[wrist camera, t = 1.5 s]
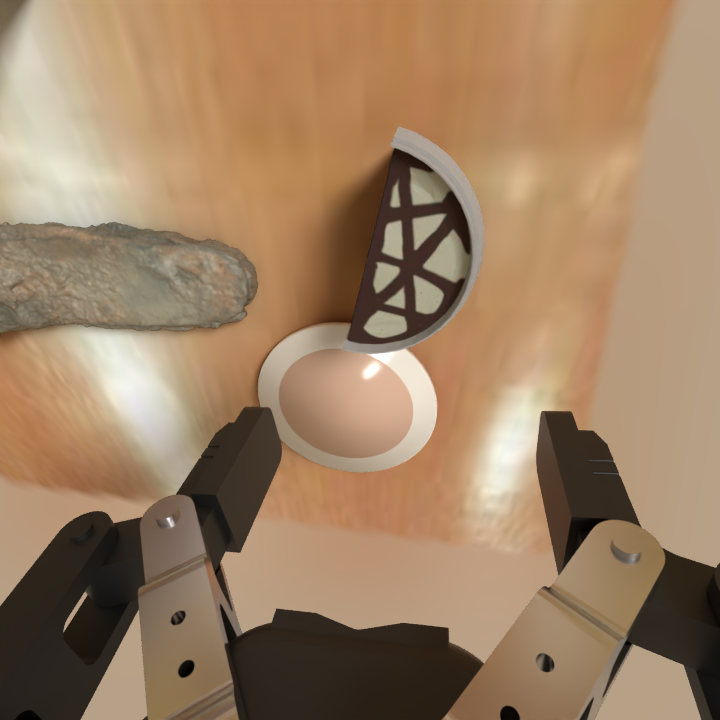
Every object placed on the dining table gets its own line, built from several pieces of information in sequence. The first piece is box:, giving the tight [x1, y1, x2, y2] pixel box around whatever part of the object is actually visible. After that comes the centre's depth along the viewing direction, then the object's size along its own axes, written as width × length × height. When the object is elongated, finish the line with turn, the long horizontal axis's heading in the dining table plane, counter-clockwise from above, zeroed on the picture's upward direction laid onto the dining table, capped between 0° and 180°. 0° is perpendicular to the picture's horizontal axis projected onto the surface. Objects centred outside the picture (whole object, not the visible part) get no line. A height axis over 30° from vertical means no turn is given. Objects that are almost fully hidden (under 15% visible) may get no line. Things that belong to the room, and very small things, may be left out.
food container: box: [342, 126, 484, 354], centre depth 27 cm, size 12×6×10 cm, turn 167°
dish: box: [258, 322, 437, 472], centre depth 40 cm, size 16×16×2 cm
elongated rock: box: [0, 222, 258, 334], centre depth 38 cm, size 35×5×10 cm
